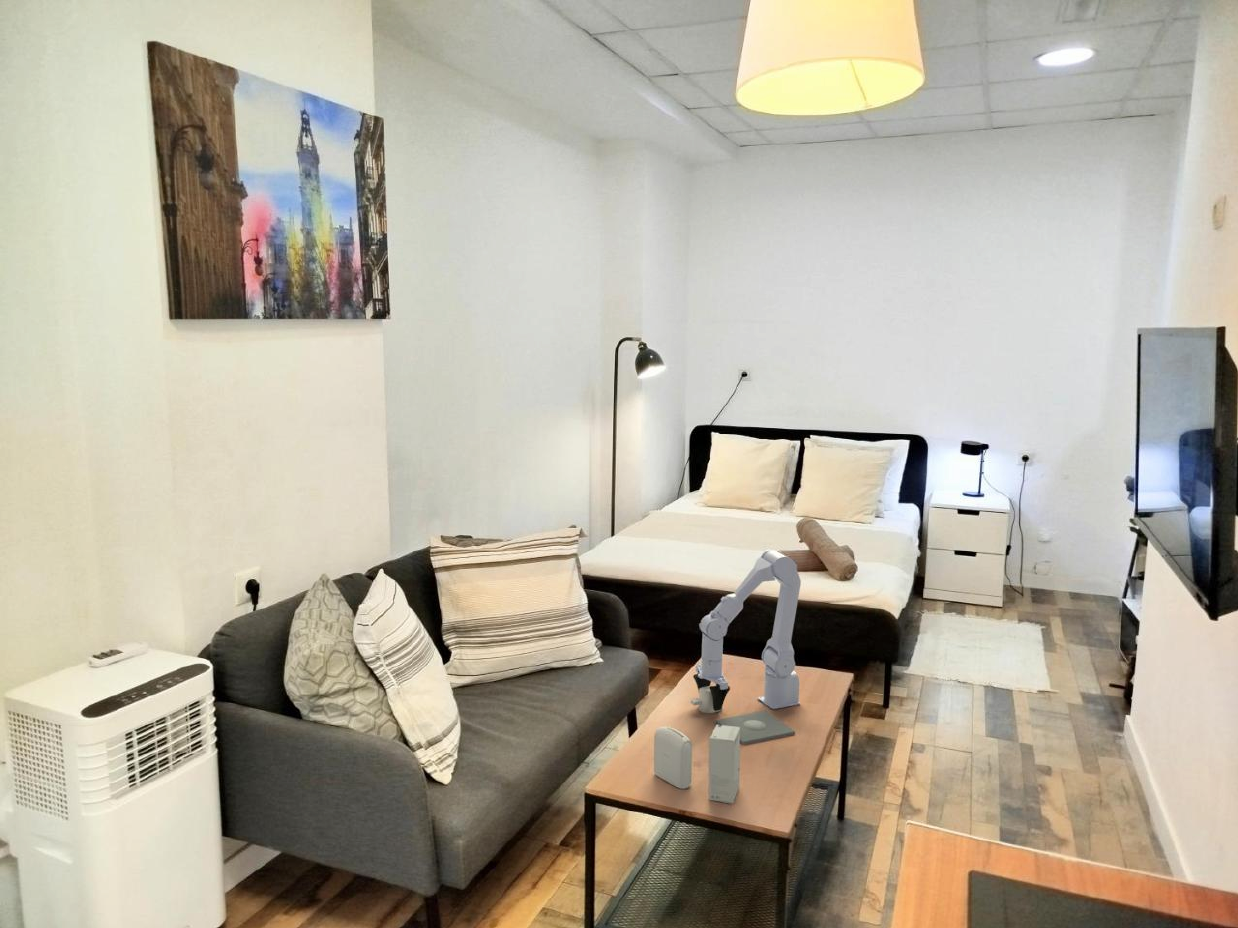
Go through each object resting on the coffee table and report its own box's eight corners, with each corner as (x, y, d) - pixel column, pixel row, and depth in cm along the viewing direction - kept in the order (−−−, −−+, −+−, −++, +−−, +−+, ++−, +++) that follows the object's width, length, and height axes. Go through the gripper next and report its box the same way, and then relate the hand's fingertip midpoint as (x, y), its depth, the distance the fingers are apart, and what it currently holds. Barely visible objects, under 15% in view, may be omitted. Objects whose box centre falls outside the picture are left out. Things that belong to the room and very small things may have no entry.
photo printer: (651, 773, 206) (651, 724, 204) (664, 768, 208) (665, 720, 207) (680, 791, 198) (681, 740, 196) (694, 785, 200) (695, 735, 199)
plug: (717, 704, 245) (718, 684, 245) (725, 710, 242) (725, 689, 241) (688, 709, 242) (689, 689, 241) (695, 715, 238) (696, 694, 237)
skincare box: (733, 804, 192) (735, 741, 190) (706, 800, 194) (708, 737, 192) (739, 786, 200) (741, 725, 198) (714, 782, 202) (715, 722, 200)
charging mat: (765, 713, 240) (765, 709, 240) (795, 734, 228) (795, 730, 227) (715, 722, 234) (715, 719, 234) (743, 744, 221) (743, 741, 221)
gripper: (687, 651, 245) (685, 696, 247) (712, 669, 232) (711, 717, 234) (708, 648, 248) (707, 693, 250) (735, 665, 235) (733, 712, 237)
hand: (710, 704), depth 242 cm, fingers open, 7 cm apart
